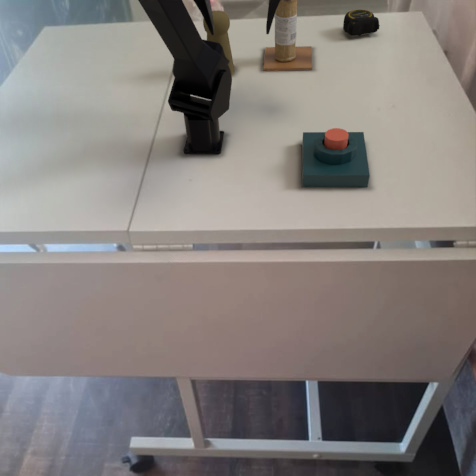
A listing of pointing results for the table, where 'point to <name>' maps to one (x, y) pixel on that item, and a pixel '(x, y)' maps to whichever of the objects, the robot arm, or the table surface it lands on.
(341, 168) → the teal push button base
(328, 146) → the red button cap
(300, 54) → the coaster
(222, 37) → the pepper shaker
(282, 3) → the sprinkles bottle
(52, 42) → the table surface
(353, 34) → the tape measure
